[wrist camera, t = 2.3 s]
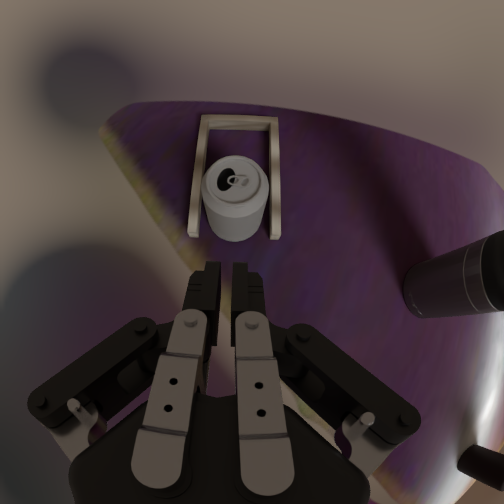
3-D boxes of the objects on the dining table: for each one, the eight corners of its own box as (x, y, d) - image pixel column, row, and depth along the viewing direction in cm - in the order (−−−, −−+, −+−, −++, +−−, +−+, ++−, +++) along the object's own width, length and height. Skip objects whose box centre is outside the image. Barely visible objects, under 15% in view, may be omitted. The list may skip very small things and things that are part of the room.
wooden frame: (278, 239, 40) (280, 234, 37) (190, 237, 39) (187, 231, 37) (275, 126, 44) (277, 117, 42) (203, 123, 44) (201, 114, 41)
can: (218, 188, 41) (213, 142, 29) (266, 202, 41) (278, 159, 29) (201, 234, 39) (188, 201, 28) (252, 249, 39) (260, 220, 28)
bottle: (481, 442, 32) (542, 461, 13) (470, 467, 31) (526, 491, 11) (464, 446, 32) (529, 470, 13) (452, 473, 31) (511, 503, 11)
